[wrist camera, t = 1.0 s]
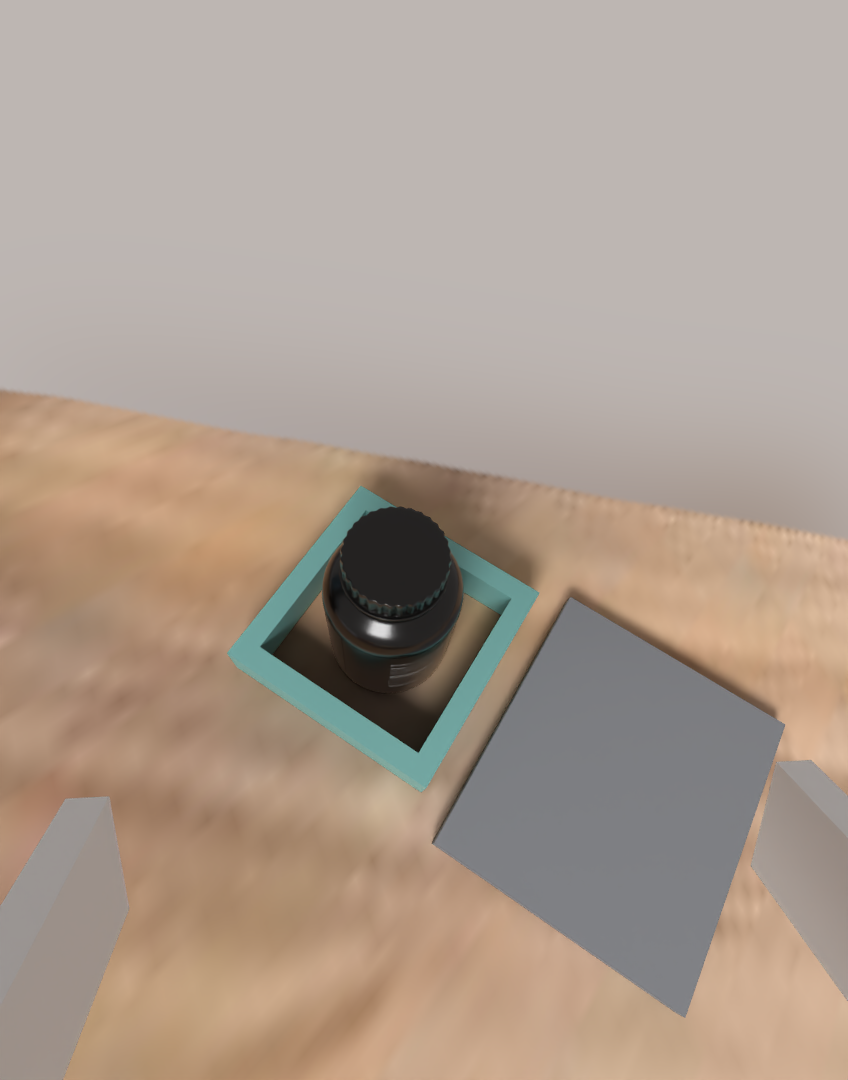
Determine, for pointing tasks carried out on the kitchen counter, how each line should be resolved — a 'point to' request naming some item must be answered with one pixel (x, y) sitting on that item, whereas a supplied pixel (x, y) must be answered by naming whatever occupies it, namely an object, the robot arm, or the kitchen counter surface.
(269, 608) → the teal collar
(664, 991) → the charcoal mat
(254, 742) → the kitchen counter surface
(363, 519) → the supplement bottle
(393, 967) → the kitchen counter surface
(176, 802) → the kitchen counter surface
